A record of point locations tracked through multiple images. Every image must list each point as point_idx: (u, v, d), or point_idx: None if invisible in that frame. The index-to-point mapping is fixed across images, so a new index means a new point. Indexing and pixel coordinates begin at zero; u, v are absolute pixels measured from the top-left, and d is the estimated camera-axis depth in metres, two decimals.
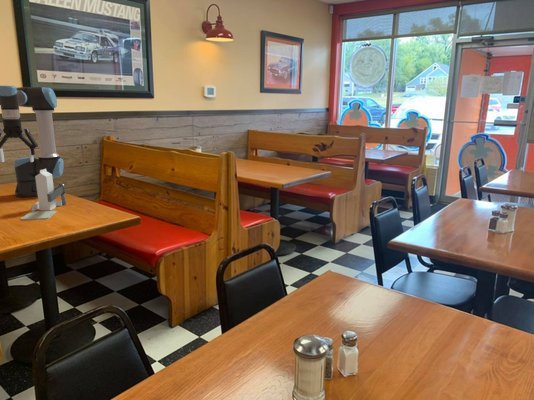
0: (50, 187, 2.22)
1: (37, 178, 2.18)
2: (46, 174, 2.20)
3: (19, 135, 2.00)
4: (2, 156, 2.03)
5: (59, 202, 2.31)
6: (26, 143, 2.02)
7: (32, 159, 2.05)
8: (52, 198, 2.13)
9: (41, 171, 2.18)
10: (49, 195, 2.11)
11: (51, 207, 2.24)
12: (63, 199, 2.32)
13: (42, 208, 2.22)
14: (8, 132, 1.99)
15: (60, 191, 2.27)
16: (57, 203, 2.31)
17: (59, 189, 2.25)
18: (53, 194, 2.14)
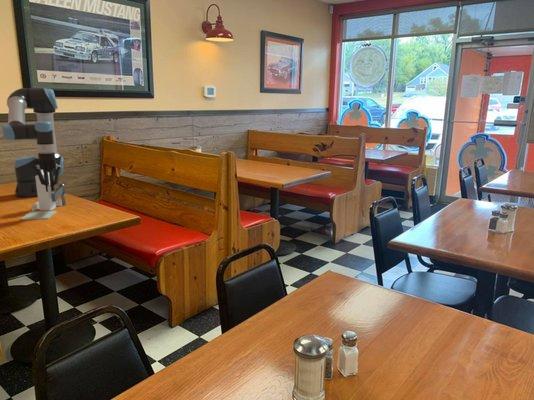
0: None
1: (37, 178, 2.18)
2: None
3: (50, 170, 2.09)
4: None
5: (59, 202, 2.31)
6: (50, 179, 2.10)
7: None
8: (56, 198, 2.14)
9: (41, 171, 2.18)
10: (53, 195, 2.11)
11: (51, 207, 2.24)
12: (63, 199, 2.32)
13: (42, 208, 2.22)
14: (43, 165, 2.07)
15: (61, 191, 2.27)
16: (57, 203, 2.31)
17: (60, 189, 2.25)
18: (56, 194, 2.15)
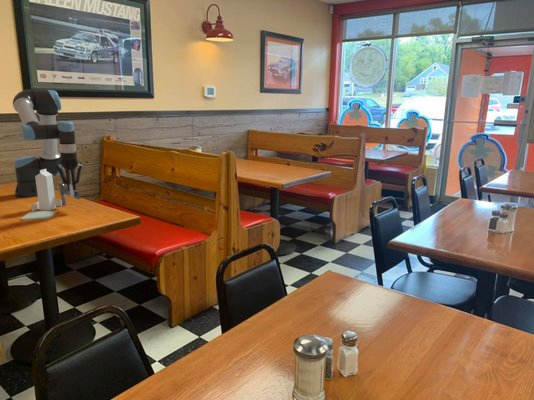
0: (50, 187, 2.22)
1: (37, 178, 2.18)
2: (46, 174, 2.20)
3: (72, 169, 2.13)
4: None
5: (59, 202, 2.31)
6: (72, 178, 2.14)
7: (73, 194, 2.17)
8: None
9: (41, 171, 2.18)
10: (79, 192, 2.17)
11: (51, 207, 2.24)
12: (63, 199, 2.32)
13: (42, 208, 2.22)
14: (65, 165, 2.11)
15: None
16: (57, 203, 2.31)
17: None
18: None
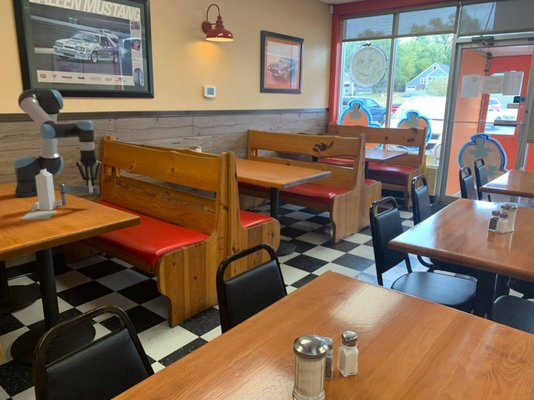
0: (50, 187, 2.22)
1: (37, 178, 2.18)
2: (46, 174, 2.20)
3: (91, 166, 2.22)
4: None
5: (59, 202, 2.31)
6: (91, 174, 2.24)
7: (92, 190, 2.27)
8: None
9: (41, 171, 2.18)
10: (98, 187, 2.29)
11: (51, 207, 2.24)
12: (63, 199, 2.32)
13: (42, 208, 2.22)
14: (85, 162, 2.21)
15: None
16: (57, 203, 2.31)
17: None
18: None
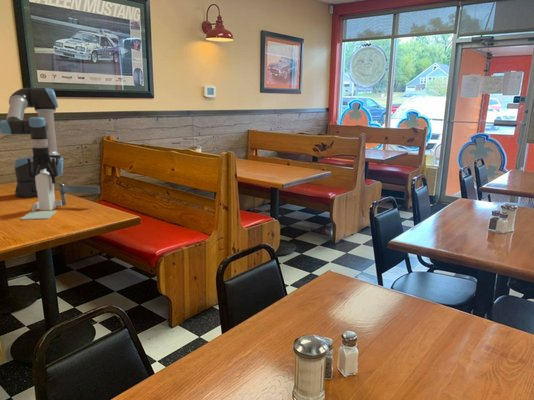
0: (50, 187, 2.22)
1: (37, 178, 2.18)
2: (46, 173, 2.20)
3: (46, 163, 2.18)
4: None
5: (59, 202, 2.31)
6: (49, 171, 2.20)
7: (53, 187, 2.23)
8: None
9: (41, 171, 2.18)
10: (99, 187, 2.30)
11: (51, 207, 2.24)
12: (63, 199, 2.32)
13: (42, 208, 2.22)
14: (37, 160, 2.16)
15: None
16: (57, 203, 2.31)
17: None
18: None
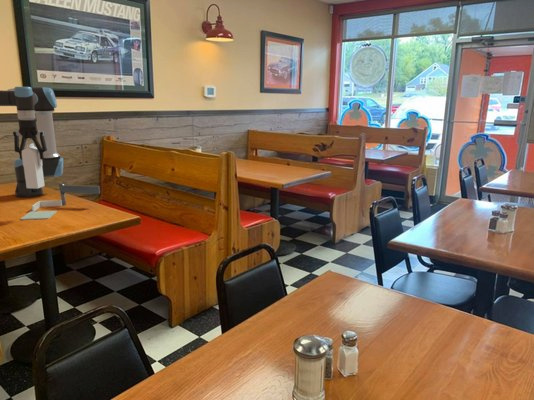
0: (38, 163, 2.06)
1: (24, 153, 2.02)
2: (33, 148, 2.04)
3: (33, 137, 2.02)
4: None
5: (59, 202, 2.31)
6: (37, 146, 2.03)
7: (41, 163, 2.07)
8: None
9: (28, 145, 2.02)
10: (99, 187, 2.30)
11: (39, 185, 2.07)
12: (63, 199, 2.32)
13: (29, 186, 2.06)
14: (24, 133, 2.00)
15: None
16: (57, 203, 2.31)
17: None
18: None
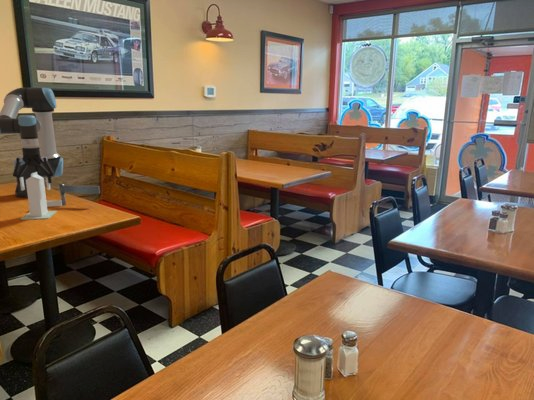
0: (41, 191, 2.09)
1: (28, 182, 2.06)
2: (37, 177, 2.08)
3: (38, 163, 2.05)
4: (22, 185, 2.08)
5: (59, 202, 2.31)
6: (44, 171, 2.07)
7: (49, 187, 2.10)
8: None
9: (32, 174, 2.06)
10: (99, 187, 2.30)
11: (43, 212, 2.11)
12: (63, 199, 2.32)
13: (33, 214, 2.10)
14: (27, 160, 2.04)
15: None
16: (57, 203, 2.31)
17: None
18: None
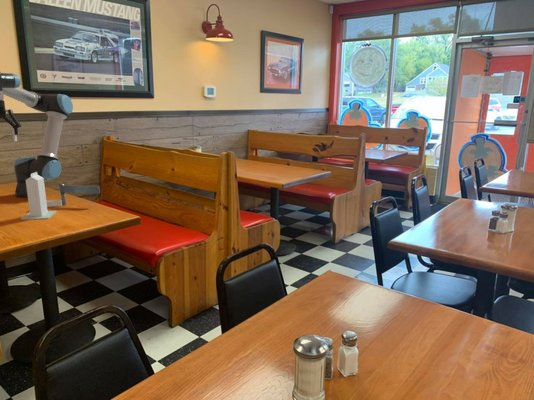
0: (41, 191, 2.09)
1: (28, 182, 2.06)
2: (37, 177, 2.08)
3: (3, 115, 2.12)
4: None
5: (59, 202, 2.31)
6: (10, 123, 2.14)
7: (15, 138, 2.17)
8: None
9: (32, 175, 2.06)
10: (99, 187, 2.30)
11: (43, 212, 2.11)
12: (63, 199, 2.32)
13: (33, 214, 2.10)
14: None
15: None
16: (57, 203, 2.31)
17: None
18: None
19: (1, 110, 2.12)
